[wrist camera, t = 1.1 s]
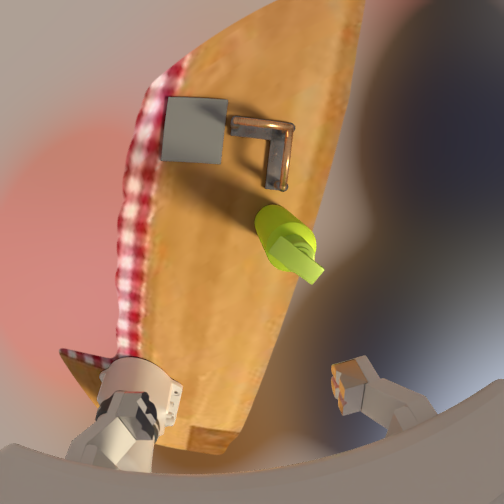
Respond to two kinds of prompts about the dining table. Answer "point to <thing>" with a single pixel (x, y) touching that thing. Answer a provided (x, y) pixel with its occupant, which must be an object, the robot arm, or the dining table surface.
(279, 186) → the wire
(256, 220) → the soap dispenser
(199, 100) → the mat
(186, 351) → the dining table surface
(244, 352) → the dining table surface
